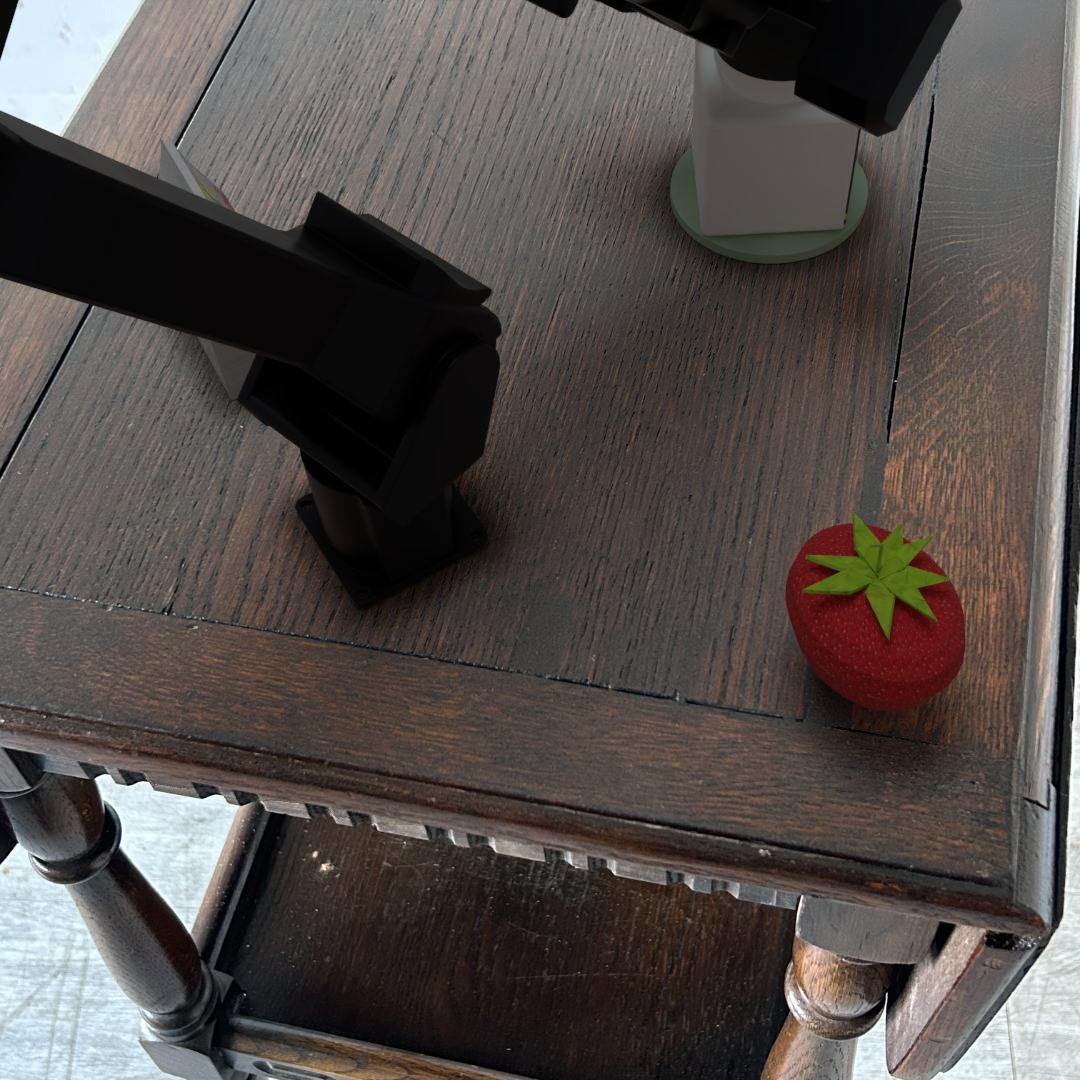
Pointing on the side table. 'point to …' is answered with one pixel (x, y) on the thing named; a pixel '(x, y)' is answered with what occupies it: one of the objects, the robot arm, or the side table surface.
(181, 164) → the tea bag
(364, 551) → the robot arm
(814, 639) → the strawberry
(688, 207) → the coaster
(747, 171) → the medicine bottle
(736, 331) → the side table surface
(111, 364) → the side table surface
